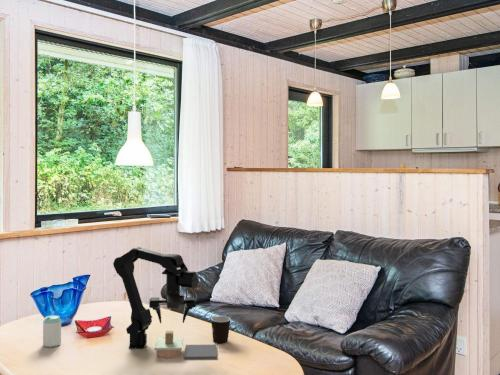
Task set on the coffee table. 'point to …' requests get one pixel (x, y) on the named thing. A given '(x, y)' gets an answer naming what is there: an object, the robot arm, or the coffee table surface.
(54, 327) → the can
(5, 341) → the coffee table surface
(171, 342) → the lid
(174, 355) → the bowl
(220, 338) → the coffee mug
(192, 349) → the mat
